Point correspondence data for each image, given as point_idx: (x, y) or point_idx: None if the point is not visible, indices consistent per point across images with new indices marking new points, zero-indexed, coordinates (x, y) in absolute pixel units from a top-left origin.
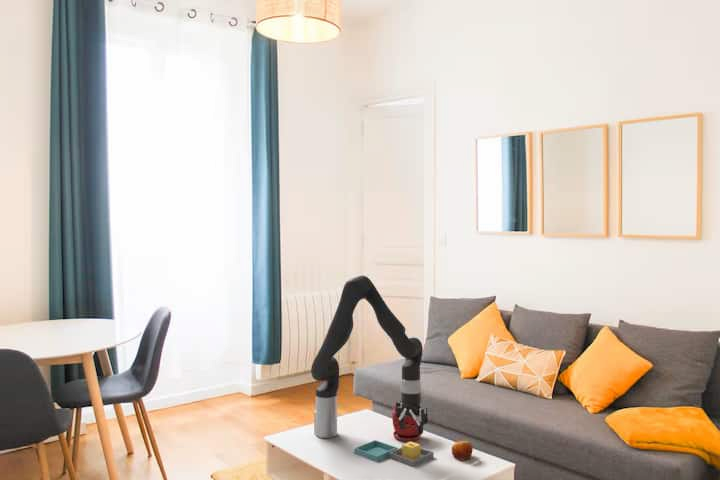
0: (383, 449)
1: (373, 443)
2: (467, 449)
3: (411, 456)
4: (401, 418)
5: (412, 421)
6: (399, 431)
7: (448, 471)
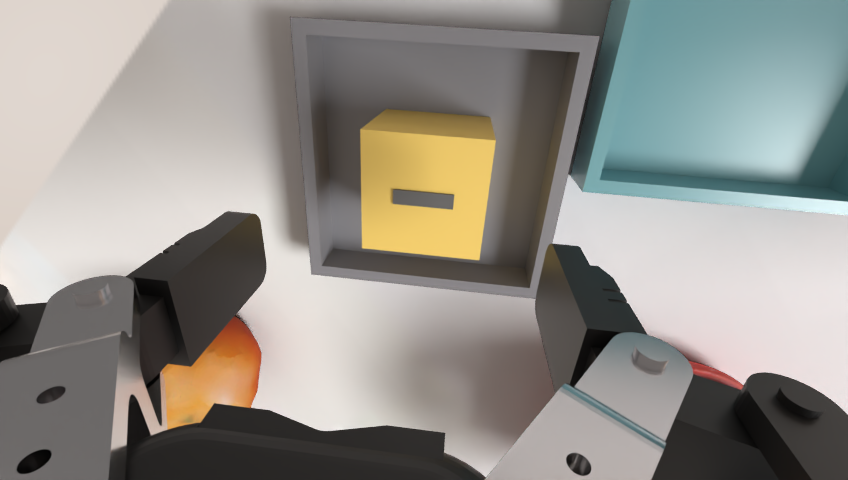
0: (718, 160)
1: None
2: None
3: (386, 116)
4: (604, 364)
5: None
6: None
7: (119, 138)
